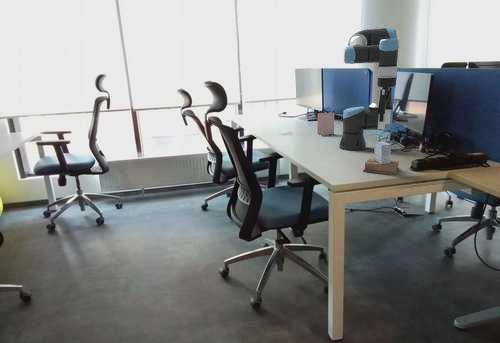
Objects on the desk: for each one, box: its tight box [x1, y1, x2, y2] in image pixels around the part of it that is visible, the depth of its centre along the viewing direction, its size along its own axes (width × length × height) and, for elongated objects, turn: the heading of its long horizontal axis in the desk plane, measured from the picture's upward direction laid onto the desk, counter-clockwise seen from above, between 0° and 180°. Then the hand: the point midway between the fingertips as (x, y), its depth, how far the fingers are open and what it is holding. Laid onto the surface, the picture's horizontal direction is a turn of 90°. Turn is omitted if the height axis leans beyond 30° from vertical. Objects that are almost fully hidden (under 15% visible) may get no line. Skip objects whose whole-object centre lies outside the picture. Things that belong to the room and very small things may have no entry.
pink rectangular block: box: [316, 112, 335, 137], centre depth 259 cm, size 11×7×15 cm, turn 84°
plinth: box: [362, 158, 400, 176], centre depth 170 cm, size 10×14×4 cm
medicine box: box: [373, 141, 392, 164], centre depth 168 cm, size 8×4×9 cm, turn 5°
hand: (384, 126), depth 165 cm, fingers open, 13 cm apart
